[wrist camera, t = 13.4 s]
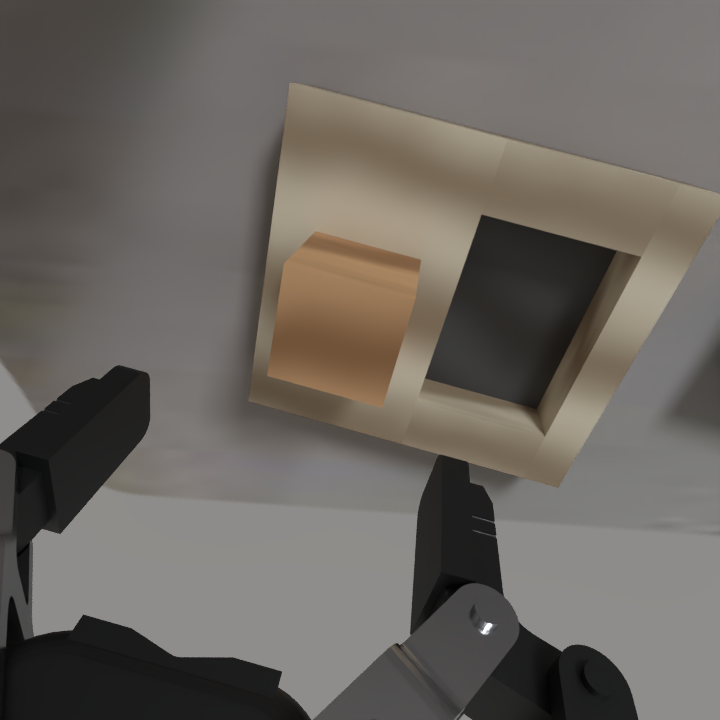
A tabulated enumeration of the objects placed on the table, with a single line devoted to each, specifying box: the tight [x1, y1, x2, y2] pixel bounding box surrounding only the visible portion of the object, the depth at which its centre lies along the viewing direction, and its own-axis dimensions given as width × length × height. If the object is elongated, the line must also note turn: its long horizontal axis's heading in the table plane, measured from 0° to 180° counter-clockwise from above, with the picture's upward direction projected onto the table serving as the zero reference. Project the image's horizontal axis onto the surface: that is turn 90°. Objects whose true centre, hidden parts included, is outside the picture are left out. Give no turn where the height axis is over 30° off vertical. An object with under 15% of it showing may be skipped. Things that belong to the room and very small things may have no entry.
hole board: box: [248, 83, 720, 487], centre depth 24 cm, size 16×18×3 cm
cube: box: [267, 231, 421, 408], centre depth 21 cm, size 5×5×5 cm
